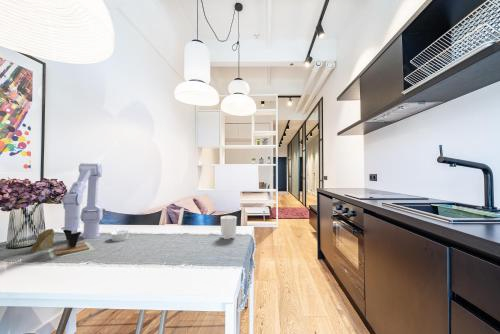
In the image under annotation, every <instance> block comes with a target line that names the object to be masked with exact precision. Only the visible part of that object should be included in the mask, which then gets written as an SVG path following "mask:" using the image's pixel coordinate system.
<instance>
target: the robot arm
mask: <svg viewBox="0 0 500 334" xmlns="http://www.w3.org/2000/svg"><path fill="white" fill-rule="evenodd" d="M78 172H79V175H78V177H77V181H75V182H73V183H72V185H71V187H70V189H69V191H68V192H67V193H66V194H64V195H63V196H62V199H61V202H62V207H63V209H64V224H63V225H64V227H60V230H62V231H63V234H64V236H65V239H66V242H67V241H68V240H69V246H70V248H71V247H76V244H78V240H79V237H80V235H81V237H82V238H83V239H84V240H87V239H91V238H97V237H98V238H99V237H102V235H101V234H100V221H101V220H103V216H104V213H103V207H102V206H100V205H98V195H99V194H98V190H99V187H98V186H99V179H100V178H101V177H102V175H103V174H102V173H103V167H102V164H101V163H94V162H93V163H88V162H87V163H86V162H85V163H84V162H81V163H80V164H79V165H78ZM87 182H88V183H87ZM86 183H87V186H86ZM86 188H87V199H86V206H84V207H83V208H82V209H81V204H82V203H83V197H84V195H83V194H84V192H85V190H86ZM80 209H81V213H80ZM80 221H81V222H82V223H83V234H81V233H82V232H81V231H78V229H79V228H80V227H81V225H80Z"/></svg>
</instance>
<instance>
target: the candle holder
mask: <svg viewBox="0 0 500 334" xmlns="http://www.w3.org/2000/svg"><path fill="white" fill-rule="evenodd" d="M237 219H238V217H237V216H235V215H223V216H220V232H221V233H220V234H221V238H222V239H223V238H224V240H231V239H230V238H233V239H235V238H236V235H237V233H236V232H237V222H238V221H237ZM234 237H235V238H234Z"/></svg>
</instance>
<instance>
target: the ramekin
mask: <svg viewBox="0 0 500 334" xmlns="http://www.w3.org/2000/svg"><path fill="white" fill-rule="evenodd" d="M129 233H130V230H129V229H128V230H127V229H120V230H115V231H112V232H111V233H110V235H111V240H112V242H122V241H127V240H128V239H129Z"/></svg>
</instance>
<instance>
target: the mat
mask: <svg viewBox="0 0 500 334" xmlns="http://www.w3.org/2000/svg"><path fill="white" fill-rule="evenodd" d="M84 243H85V244H86V245H87V246H88V247H89V250H85V251H80V252H75V253H71V254H66V255H61V256H56V254H55V252H54V248H50V249H47V252H48V254H49V257H50V259H51V260H53V259H58V258H63V257H68V256H71V255H75V254H76V255H77V254H80V253H85V252H90V251H94V250H95V248H94V247H93V246H92V245H91V243H89V242H87V241H86V242H84Z"/></svg>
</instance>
